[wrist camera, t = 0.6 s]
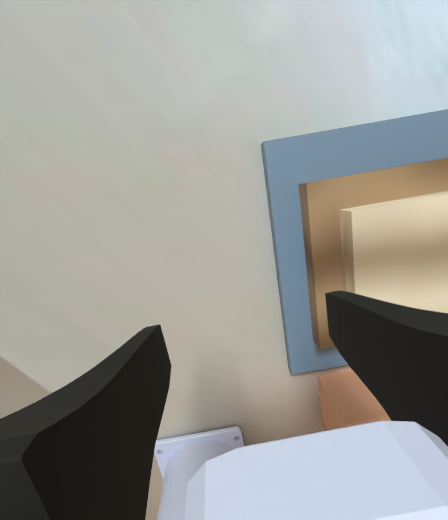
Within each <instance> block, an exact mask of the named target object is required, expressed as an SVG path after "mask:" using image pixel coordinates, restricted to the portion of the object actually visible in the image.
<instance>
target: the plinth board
mask: <svg viewBox="0 0 448 520" xmlns="http://www.w3.org/2000/svg"><path fill="white" fill-rule="evenodd" d="M261 148H262V156H263V164H264V173H265V181H266V189H267V197H268V205H269V213H270V221H271V229H272V238H273V246H274V254H275V262H276V270H277V278H278V286H279V294H280V302H281V311H282V319H283V327H284V335H285V343H286V351H287V359H288V367H289V369H290V372H291V374H292V375H294V374H299V373H305V372H311V371H316V370H322V369H327V368H333V367H339V366H344V365H348V364H347V362H346V361H345V360H344V358H343V357H342V356H341V355H340V353H339V351H338V350H337V348H336V347H335V345H334V343H333V342H332V340H331V338H330V336H329V331H328V320H327V309H326V298H325V293H328V292H333V291H339V290H340V291H346V292H351V293H355V294H359V295H363V296H366V297H370V298H374V299H378V300H382V301H386V302H390V303H394V304H398V305H403V306H407V307H412V308H417V309H423V310H429V311H435V312H442V313H448V109H447V110H442V111H436V112H430V113H424V114H419V115H413V116H407V117H402V118H396V119H390V120H385V121H379V122H373V123H367V124H362V125H356V126H350V127H345V128H339V129H333V130H328V131H322V132H316V133H310V134H305V135H299V136H293V137H288V138H282V139H276V140H271V141H265V142H263V143H262V144H261Z"/></svg>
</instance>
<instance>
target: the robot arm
mask: <svg viewBox="0 0 448 520" xmlns="http://www.w3.org/2000/svg"><path fill="white" fill-rule="evenodd" d="M325 298H326V309H327V320H328V331H329V336H330V338H331V340H332V342H333V343H334V345H335V347H336V348H337V350H338V351H339V353H340V355H341V356H342V357H343V358H344V360H345V361H346V362H347V364H348V365H349V366H350V367H351V369H352V370H353V371H354V372H355V373H356V375H357V376H358V377H359V378H360V380H361V381H362V382H363V383H364V384H365V386H366V387H367V388H368V389H369V391H370V392H371V393H372V394H373V396H374V397H375V398H376V399H377V401H378V402H379V403H380V405H381V406H382V407H383V409H384V410H385V412H386V413H387V415H388V416H389V418H390V419H391V421H373V422H368V423H363V424H358V425H352V426H347V427H342V428H336V429H331V430H326V431H321V432H315V433H310V434H305V435H300V436H294V437H289V438H284V439H279V440H273V441H268V442H263V443H258V444H252V445H247V446H244V442H243V437H242V432H241V428H239V427H237V426H235V427H229V428H223V429H218V430H212V431H206V432H201V433H195V434H190V435H184V436H178V437H173V438H167V439H161V440H157V441H156V439H157V435H158V431H159V427H160V423H161V419H162V415H163V411H164V407H165V402H166V398H167V394H168V390H169V383H170V374H171V363H170V359H169V355H168V352H167V348H166V344H165V341H164V337H163V333H162V330H161V326H160V325H155V326H149V327H146V328H144V329H142V330H141V331H140V332H138V333H137V334H136V335H135V336H133V337H132V338H131V339H130V340H128V341H127V342H126V343H125V344H123V345H122V346H121V347H120V348H119V349H117V350H116V351H115V352H114V353H112V354H111V355H110V356H108V357H107V358H106V359H104V360H103V361H102V362H100V363H99V364H98V365H96V366H95V367H94V368H92V369H91V370H89V371H88V372H86V373H85V374H83V375H82V376H80V377H79V378H77V379H76V380H74V381H73V382H71V383H69V384H68V385H66V386H64V387H62V388H61V389H59V390H57V391H55V392H53V393H52V394H50V395H48V396H46V397H44V398H43V399H41V400H39V401H37V402H35V403H33V404H31V405H29V406H27V407H25V408H23V409H21V410H19V411H17V412H14V413H12V414H10V415H8V416H6V417H4V418H1V419H0V520H145V516H146V507H147V500H148V491H149V482H150V475H151V469H152V462H153V455H154V452H155V455H156V458H157V462H158V465H159V469H160V472H161V475H162V478H163V487H162V493H161V499H160V505H159V511H158V517H157V520H448V313H442V312H435V311H429V310H423V309H417V308H412V307H407V306H403V305H398V304H394V303H390V302H386V301H382V300H378V299H374V298H370V297H366V296H363V295H359V294H355V293H351V292H346V291H340V290H339V291H333V292H328V293H325ZM236 436H238V437H236Z"/></svg>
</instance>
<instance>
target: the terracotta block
mask: <svg viewBox="0 0 448 520" xmlns="http://www.w3.org/2000/svg"><path fill="white" fill-rule="evenodd" d="M318 380H319V391H320V402H321V414H322V422H323V424H324V426H325V428H326V430H331V429H336V428H342V427H347V426H352V425H358V424H363V423H368V422H373V421H391V419H390V418H389V416H388V415H387V413H386V412H385V410H384V409H383V407H382V406H381V405H380V403H379V402H378V401H377V399H376V398H375V397H374V396H373V394H372V393H371V392H370V391H369V389H368V388H367V387H366V386H365V384H364V383H363V382H362V381H361V380H360V378H359V377H358V376H357V375H356V373H355V372H354V371H353V370H350V371H344V372H339V373H333V374H327V375H322V376H318Z"/></svg>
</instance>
